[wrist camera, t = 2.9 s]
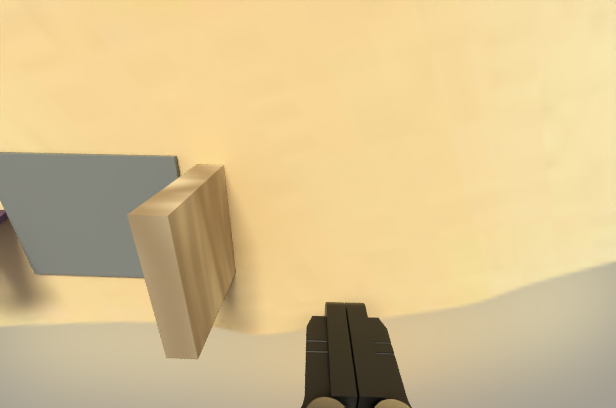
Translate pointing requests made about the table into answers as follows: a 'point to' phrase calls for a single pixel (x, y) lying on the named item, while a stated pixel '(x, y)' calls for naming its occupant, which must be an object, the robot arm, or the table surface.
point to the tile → (186, 256)
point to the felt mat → (80, 208)
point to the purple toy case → (3, 216)
